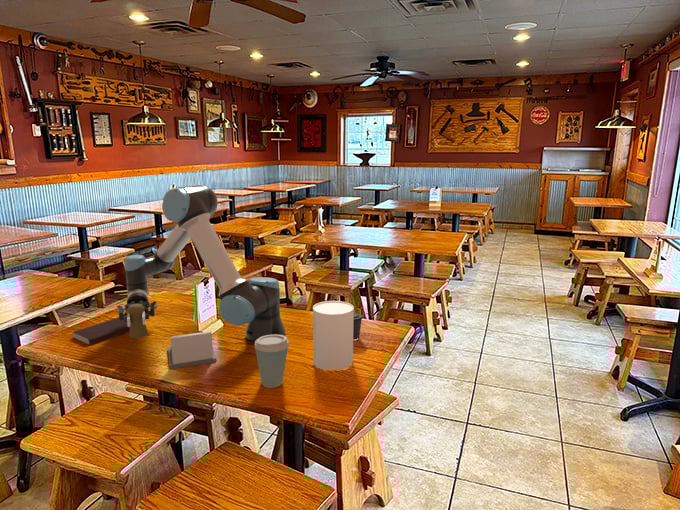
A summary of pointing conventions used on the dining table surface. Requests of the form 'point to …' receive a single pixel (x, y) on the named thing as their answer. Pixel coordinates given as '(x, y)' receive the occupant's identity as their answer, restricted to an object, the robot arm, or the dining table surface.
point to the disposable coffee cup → (271, 359)
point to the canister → (333, 335)
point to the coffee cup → (356, 325)
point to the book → (101, 331)
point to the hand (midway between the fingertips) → (136, 321)
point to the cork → (136, 321)
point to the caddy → (191, 350)
